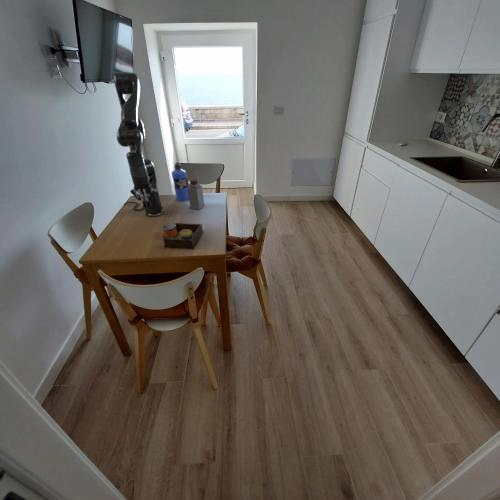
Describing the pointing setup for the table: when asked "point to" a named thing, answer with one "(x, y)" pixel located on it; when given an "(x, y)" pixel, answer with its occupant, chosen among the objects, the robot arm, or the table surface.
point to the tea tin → (186, 234)
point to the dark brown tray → (185, 242)
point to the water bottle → (180, 183)
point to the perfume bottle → (195, 195)
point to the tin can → (170, 231)
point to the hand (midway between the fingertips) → (147, 207)
